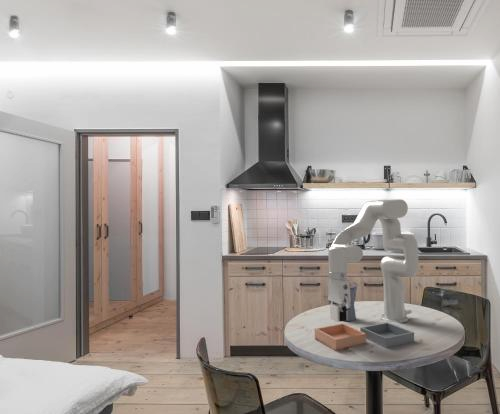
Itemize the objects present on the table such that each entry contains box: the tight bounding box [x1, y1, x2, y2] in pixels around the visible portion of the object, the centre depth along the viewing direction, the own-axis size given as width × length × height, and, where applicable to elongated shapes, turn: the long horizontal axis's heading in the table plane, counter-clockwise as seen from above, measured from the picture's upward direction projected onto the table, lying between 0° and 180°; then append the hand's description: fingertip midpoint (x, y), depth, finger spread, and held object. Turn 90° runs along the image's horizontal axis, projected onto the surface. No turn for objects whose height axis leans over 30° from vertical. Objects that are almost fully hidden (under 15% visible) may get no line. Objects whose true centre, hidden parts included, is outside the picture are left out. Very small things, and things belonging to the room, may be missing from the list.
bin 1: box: [314, 322, 367, 352], centre depth 155 cm, size 15×15×4 cm
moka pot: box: [343, 282, 358, 323], centre depth 186 cm, size 10×15×20 cm, turn 24°
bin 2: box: [359, 321, 415, 349], centre depth 155 cm, size 15×15×4 cm
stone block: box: [329, 304, 344, 323], centre depth 155 cm, size 5×5×6 cm
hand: (338, 318), depth 155 cm, fingers closed on stone block, 5 cm apart
